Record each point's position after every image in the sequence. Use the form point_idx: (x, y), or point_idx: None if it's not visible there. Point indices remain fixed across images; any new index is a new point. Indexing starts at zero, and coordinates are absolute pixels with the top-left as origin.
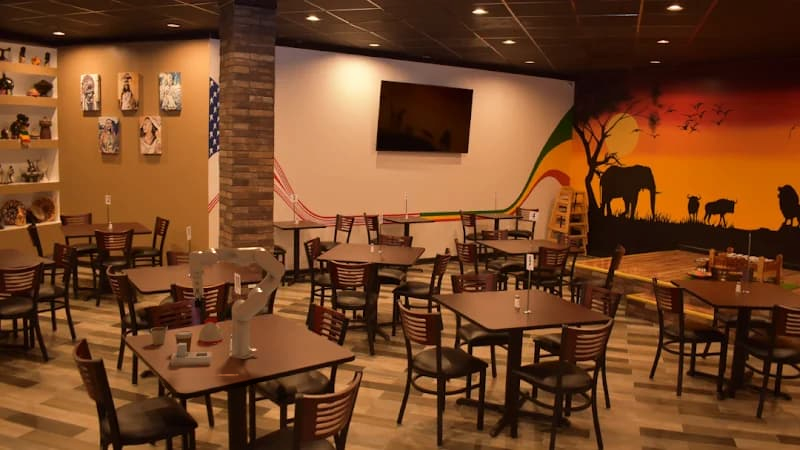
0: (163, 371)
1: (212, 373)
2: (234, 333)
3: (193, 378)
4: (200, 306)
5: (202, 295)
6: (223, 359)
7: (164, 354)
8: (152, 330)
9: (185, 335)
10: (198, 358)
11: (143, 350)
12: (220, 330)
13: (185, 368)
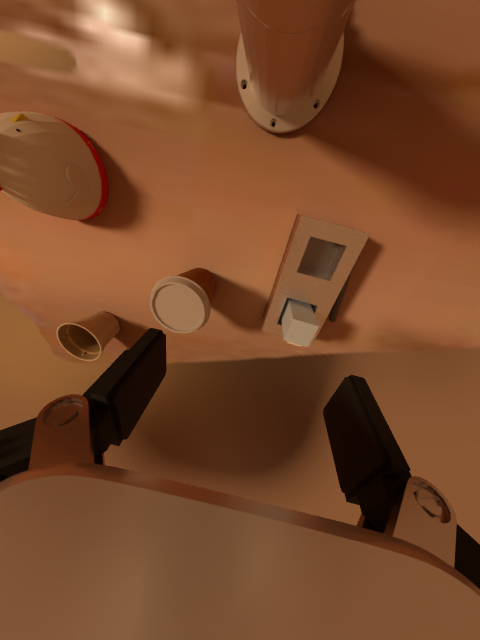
0: (329, 349)
1: (431, 238)
2: (328, 32)
3: (434, 299)
4: (363, 388)
5: (473, 584)
6: (300, 166)
7: None
8: (78, 351)
9: (205, 308)
10: (347, 275)
11: None
12: (23, 115)
13: None
